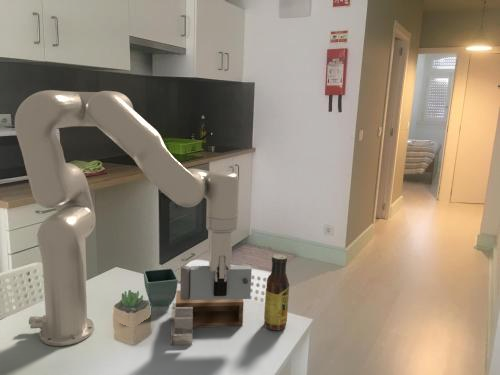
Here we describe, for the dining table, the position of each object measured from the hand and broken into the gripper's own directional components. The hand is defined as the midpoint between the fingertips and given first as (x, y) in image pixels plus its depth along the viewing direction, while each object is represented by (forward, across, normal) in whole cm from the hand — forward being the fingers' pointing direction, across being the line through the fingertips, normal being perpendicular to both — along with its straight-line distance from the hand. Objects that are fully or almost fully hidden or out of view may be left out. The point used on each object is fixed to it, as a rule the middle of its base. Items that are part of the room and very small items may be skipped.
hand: (219, 292), depth 105 cm
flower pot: (+13, -19, -16) cm, 28 cm away
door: (+1, 0, -1) cm, 2 cm away
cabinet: (+12, -9, -2) cm, 16 cm away
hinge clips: (+12, -1, -9) cm, 16 cm away
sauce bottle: (+13, -5, +16) cm, 21 cm away
